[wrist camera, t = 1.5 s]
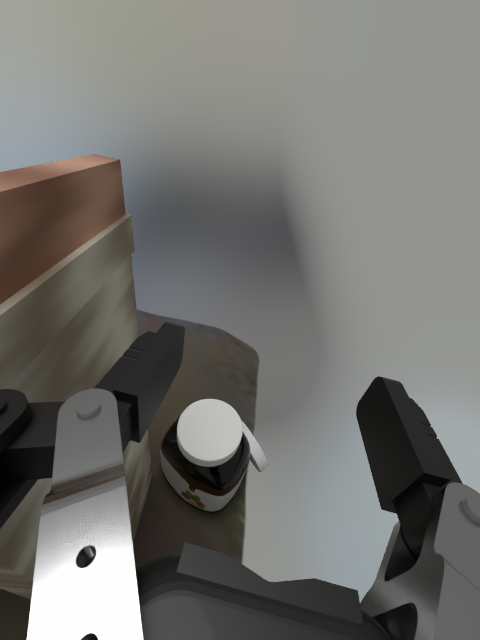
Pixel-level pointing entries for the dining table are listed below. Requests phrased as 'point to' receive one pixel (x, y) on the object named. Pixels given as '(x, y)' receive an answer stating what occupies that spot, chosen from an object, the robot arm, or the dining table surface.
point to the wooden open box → (64, 314)
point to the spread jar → (209, 454)
